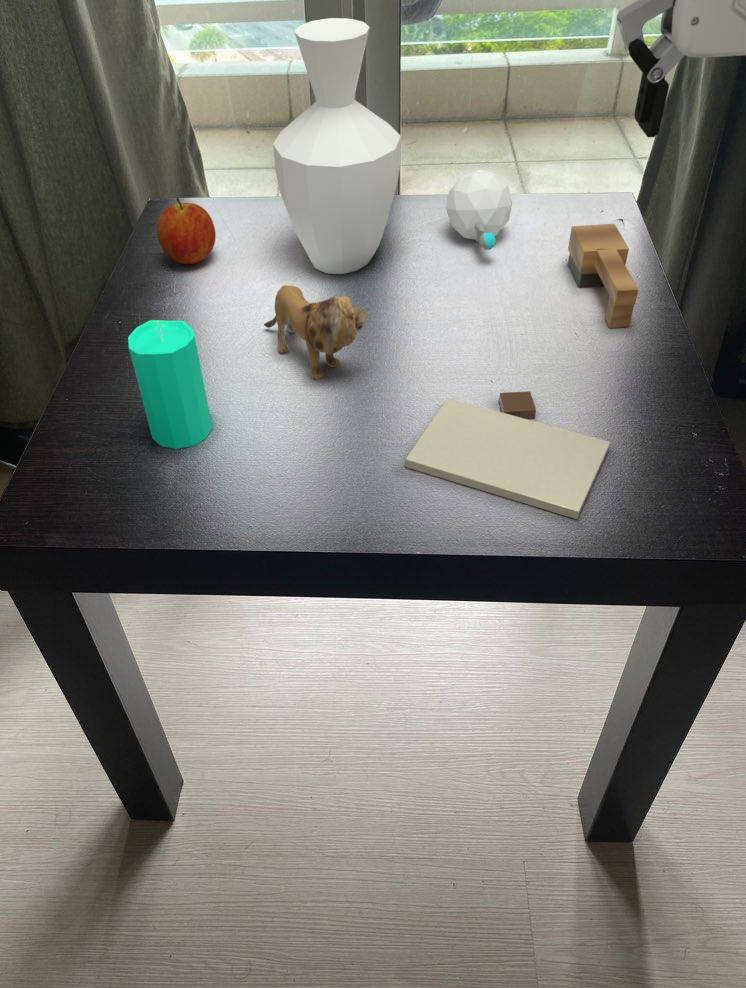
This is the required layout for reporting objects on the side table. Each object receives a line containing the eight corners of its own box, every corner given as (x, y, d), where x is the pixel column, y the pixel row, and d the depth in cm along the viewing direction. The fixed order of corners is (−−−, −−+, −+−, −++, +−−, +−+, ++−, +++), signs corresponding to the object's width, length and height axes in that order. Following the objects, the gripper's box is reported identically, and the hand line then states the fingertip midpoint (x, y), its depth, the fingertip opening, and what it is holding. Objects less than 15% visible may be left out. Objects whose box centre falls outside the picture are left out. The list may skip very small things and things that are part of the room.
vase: (318, 222, 111) (304, 3, 93) (418, 242, 106) (424, 15, 88) (263, 273, 102) (235, 43, 84) (369, 297, 97) (364, 59, 79)
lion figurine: (375, 373, 87) (374, 295, 81) (338, 396, 85) (334, 317, 78) (282, 320, 95) (274, 245, 88) (245, 340, 92) (235, 264, 86)
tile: (608, 450, 78) (610, 441, 77) (577, 519, 72) (579, 511, 71) (447, 405, 83) (447, 397, 82) (404, 467, 77) (405, 458, 76)
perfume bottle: (515, 188, 107) (538, 245, 100) (460, 227, 111) (478, 284, 104) (485, 143, 102) (507, 199, 95) (428, 185, 105) (445, 242, 98)
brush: (642, 326, 91) (652, 288, 88) (596, 329, 91) (604, 291, 88) (607, 260, 101) (614, 223, 98) (565, 262, 101) (571, 226, 98)
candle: (206, 449, 80) (184, 340, 71) (144, 448, 80) (115, 340, 72) (217, 409, 84) (197, 302, 75) (158, 409, 85) (131, 302, 76)
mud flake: (534, 418, 81) (536, 410, 80) (503, 419, 81) (504, 411, 80) (529, 399, 83) (530, 391, 83) (498, 400, 83) (499, 392, 83)
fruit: (225, 247, 107) (216, 185, 101) (211, 275, 102) (201, 211, 96) (172, 245, 108) (160, 183, 102) (156, 273, 103) (142, 210, 97)
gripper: (665, -130, 52) (611, 153, 65) (944, -146, 52) (837, 139, 65) (630, -150, 57) (587, 115, 70) (884, -165, 57) (796, 103, 70)
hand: (707, 127), depth 67 cm, fingers open, 9 cm apart
